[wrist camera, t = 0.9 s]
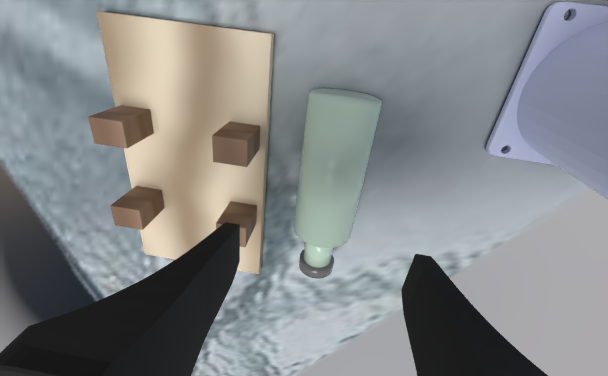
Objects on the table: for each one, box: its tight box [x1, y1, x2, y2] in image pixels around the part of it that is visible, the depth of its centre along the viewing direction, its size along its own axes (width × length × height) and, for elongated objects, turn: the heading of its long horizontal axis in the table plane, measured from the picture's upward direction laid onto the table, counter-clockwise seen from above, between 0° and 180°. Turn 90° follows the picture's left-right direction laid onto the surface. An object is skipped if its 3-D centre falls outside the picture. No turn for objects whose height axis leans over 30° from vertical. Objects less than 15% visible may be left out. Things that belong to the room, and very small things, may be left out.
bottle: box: [293, 88, 382, 278], centre depth 19 cm, size 4×12×4 cm, turn 174°
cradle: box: [88, 11, 274, 274], centre depth 20 cm, size 10×18×4 cm, turn 174°
